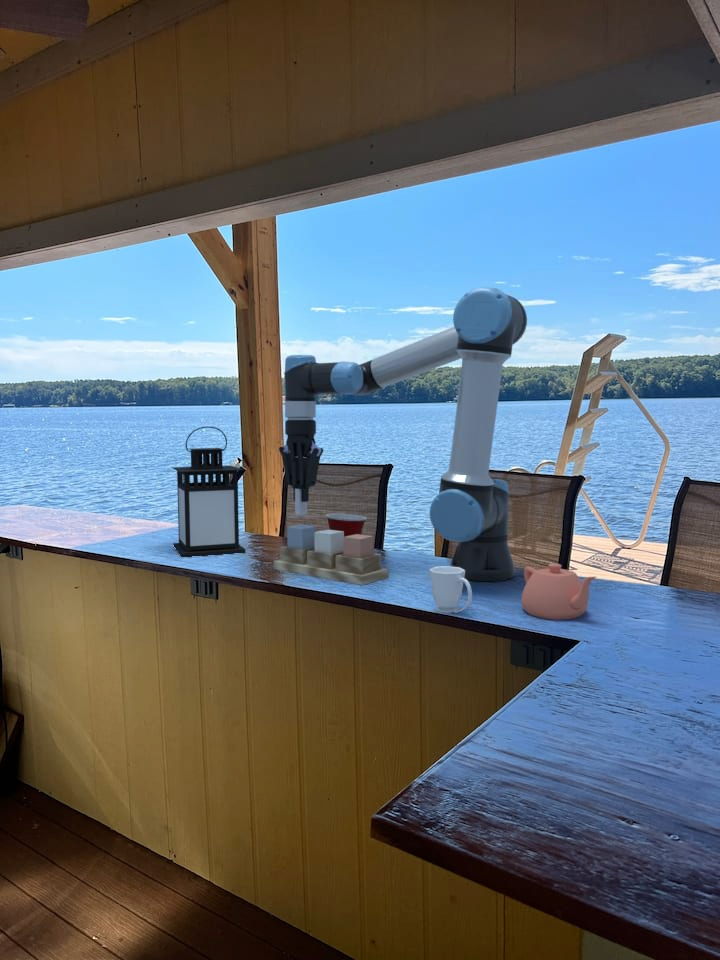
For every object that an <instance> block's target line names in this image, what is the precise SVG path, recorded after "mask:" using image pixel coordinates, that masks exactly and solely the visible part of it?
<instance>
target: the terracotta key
mask: <svg viewBox="0 0 720 960" xmlns="http://www.w3.org/2000/svg"><path fill="white" fill-rule="evenodd" d="M373 553H374V535H367V534H366V535H365V534H361V535H360V534H355V535H350V536H345V537H343V556H347V557H353V558H360V559H361V558H365V557H369V556H373V555H374V554H375V553H374V554H373Z"/></svg>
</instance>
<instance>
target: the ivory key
mask: <svg viewBox="0 0 720 960" xmlns="http://www.w3.org/2000/svg"><path fill="white" fill-rule="evenodd" d="M343 537H344V531H336V530H330V529H324V530H319V531H316V532H314V538H315V552H321V553H327V554H333V553H337V552H342V551H343Z"/></svg>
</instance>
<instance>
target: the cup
mask: <svg viewBox="0 0 720 960" xmlns="http://www.w3.org/2000/svg"><path fill="white" fill-rule="evenodd" d="M428 571H429V578H430V583H431V592H432V596H433V597H432V598H433V600H434V604H435V605H436V606H437V607H435V611H437V612H438V611H439V612H438V613H442V612H445V613H444V614H450V613H449V612H454V613H453V614H459V613H461V612H464V611H465V610H466V609H468V608H469V607H470V606H471V604H472V601H473V592H472V586H471V584H470V581H469V580H466V579H465V578H464V576H465V570H464V569H462V568H460V567H452V566H450V565H442V566H435V567H431V568H429V569H428ZM464 585H465V586H466V588H467V589H466V590H467V596H468V597H467V602H466V603H465V605H464V606H463V607H462V608H460V609H459V608H458V606H459V604H460V601H461V599H462V593H463V587H464ZM457 610H458V611H457ZM458 612H459V613H458Z"/></svg>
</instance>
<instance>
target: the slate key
mask: <svg viewBox="0 0 720 960" xmlns="http://www.w3.org/2000/svg"><path fill="white" fill-rule="evenodd" d="M286 529H287V530H286V531H287V534H286V535H287V536H286V537H287V539H286V541H287V546H288V548H294V549H301V550H304V549H308V548H313V547H315V538H314V532H317V526H315V525H306V524H297V525H291V526H287V527H286Z"/></svg>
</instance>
